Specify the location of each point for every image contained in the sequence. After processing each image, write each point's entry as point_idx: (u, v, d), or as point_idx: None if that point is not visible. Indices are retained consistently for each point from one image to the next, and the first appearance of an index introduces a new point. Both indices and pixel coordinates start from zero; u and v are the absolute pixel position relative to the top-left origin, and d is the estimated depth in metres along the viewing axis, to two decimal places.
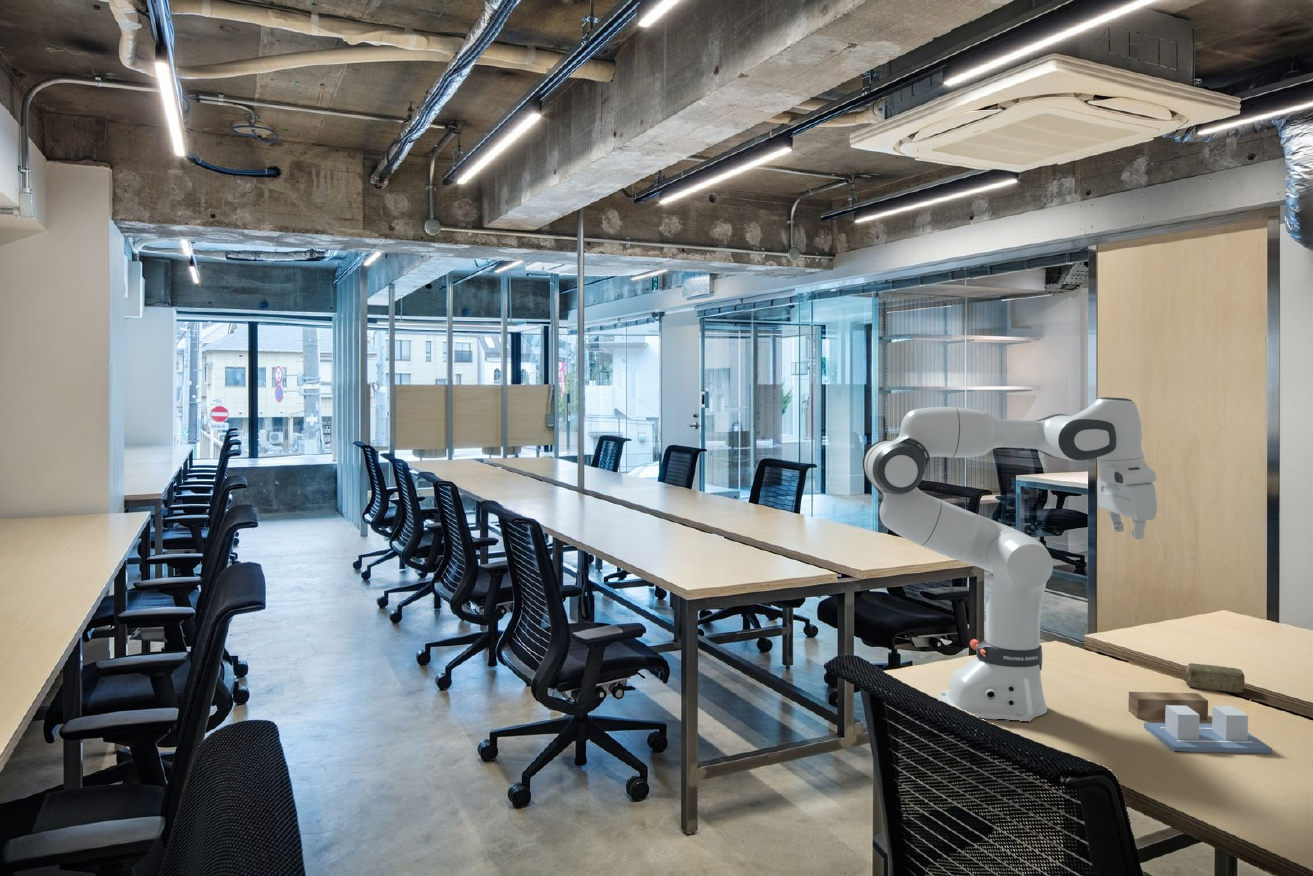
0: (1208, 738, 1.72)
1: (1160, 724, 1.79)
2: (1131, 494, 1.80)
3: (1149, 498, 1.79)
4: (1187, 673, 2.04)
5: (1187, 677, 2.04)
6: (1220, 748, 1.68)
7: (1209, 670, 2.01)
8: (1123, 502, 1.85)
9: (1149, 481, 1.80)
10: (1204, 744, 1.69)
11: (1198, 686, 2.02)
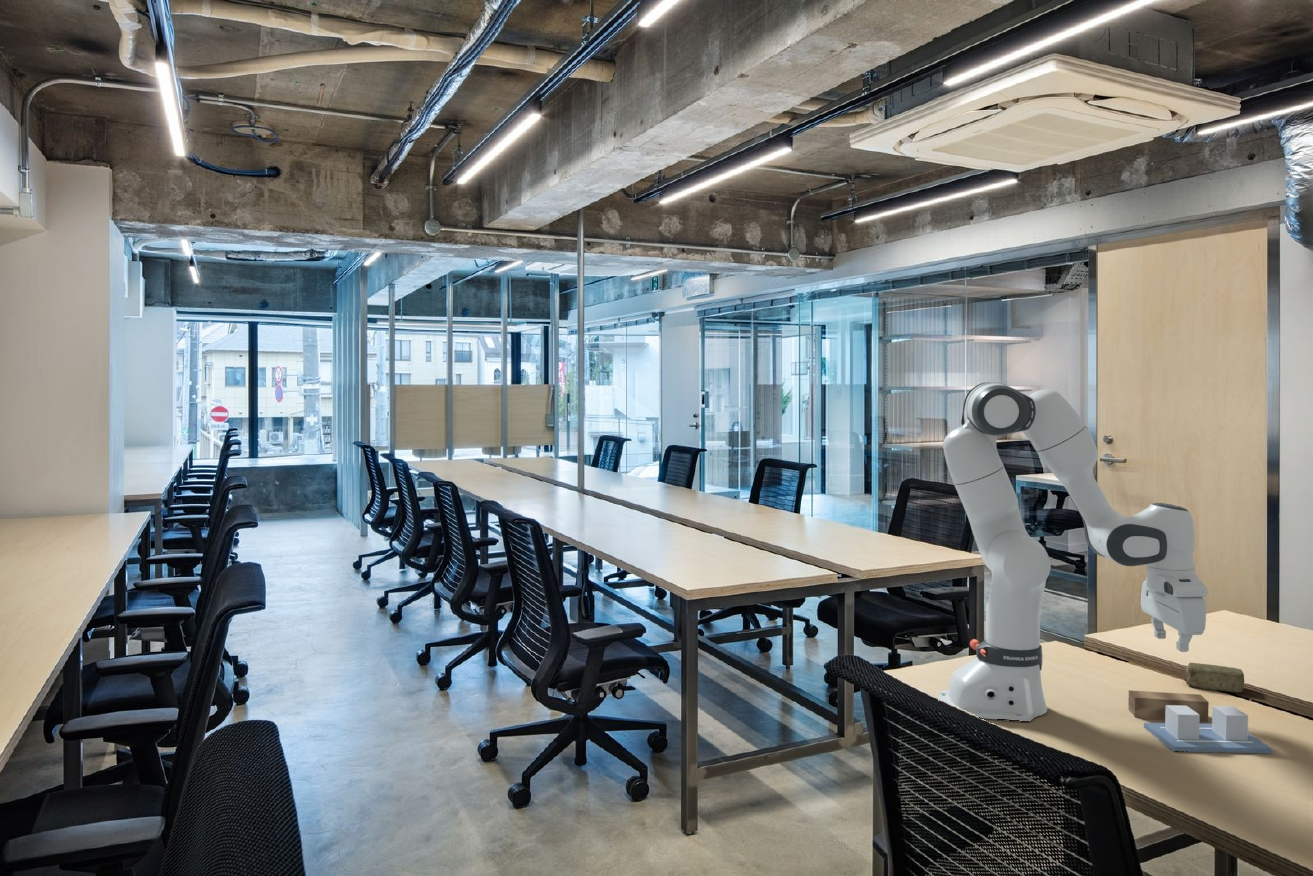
0: (1208, 738, 1.72)
1: (1160, 724, 1.79)
2: (1181, 607, 1.77)
3: (1198, 613, 1.76)
4: (1187, 672, 2.05)
5: (1187, 676, 2.05)
6: (1220, 748, 1.68)
7: (1208, 669, 2.02)
8: (1170, 613, 1.82)
9: (1200, 596, 1.77)
10: (1204, 744, 1.69)
11: (1197, 685, 2.03)
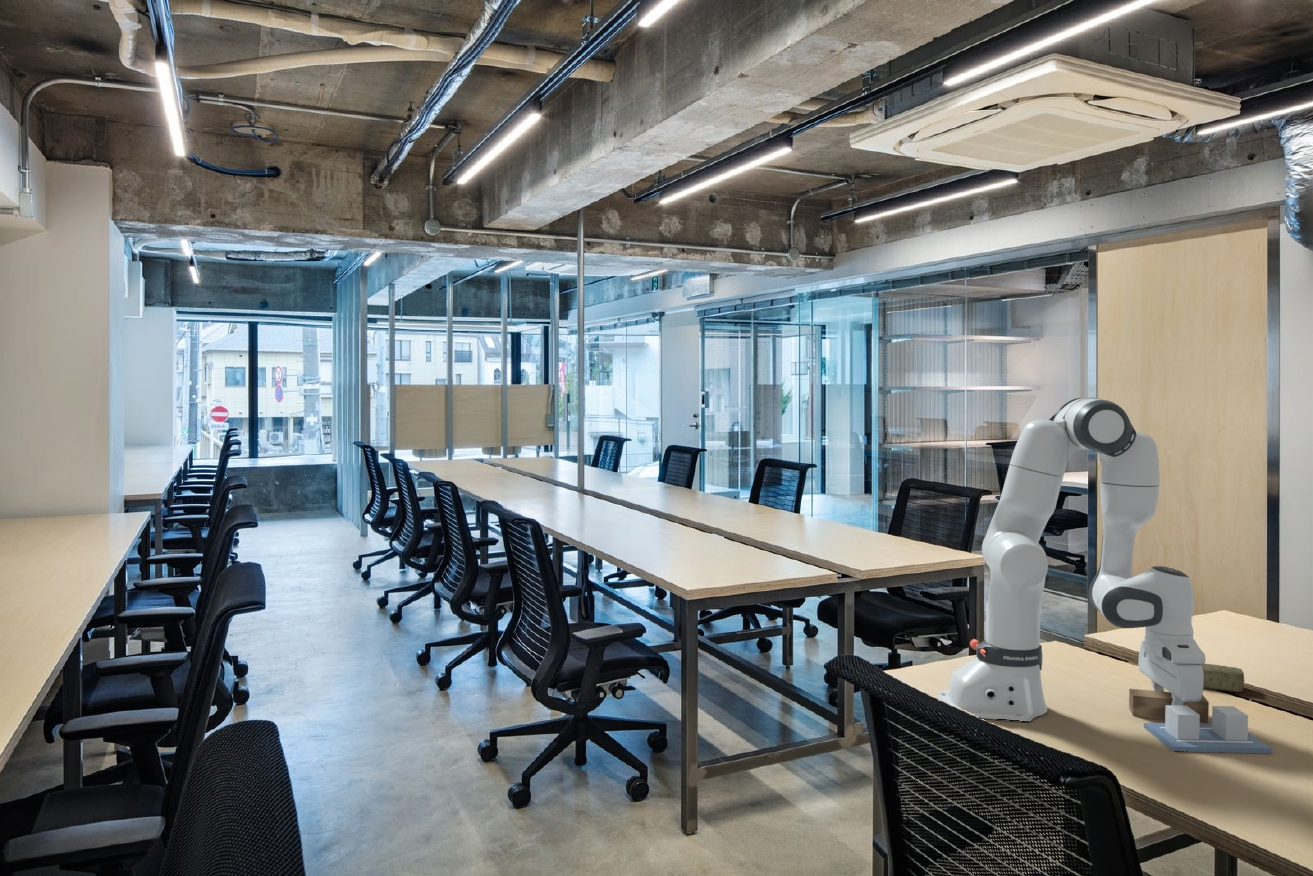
0: (1208, 738, 1.72)
1: (1160, 724, 1.79)
2: (1178, 674, 1.77)
3: (1196, 680, 1.76)
4: None
5: None
6: (1220, 748, 1.68)
7: (1208, 669, 2.02)
8: (1167, 677, 1.83)
9: (1198, 663, 1.77)
10: (1204, 744, 1.69)
11: None
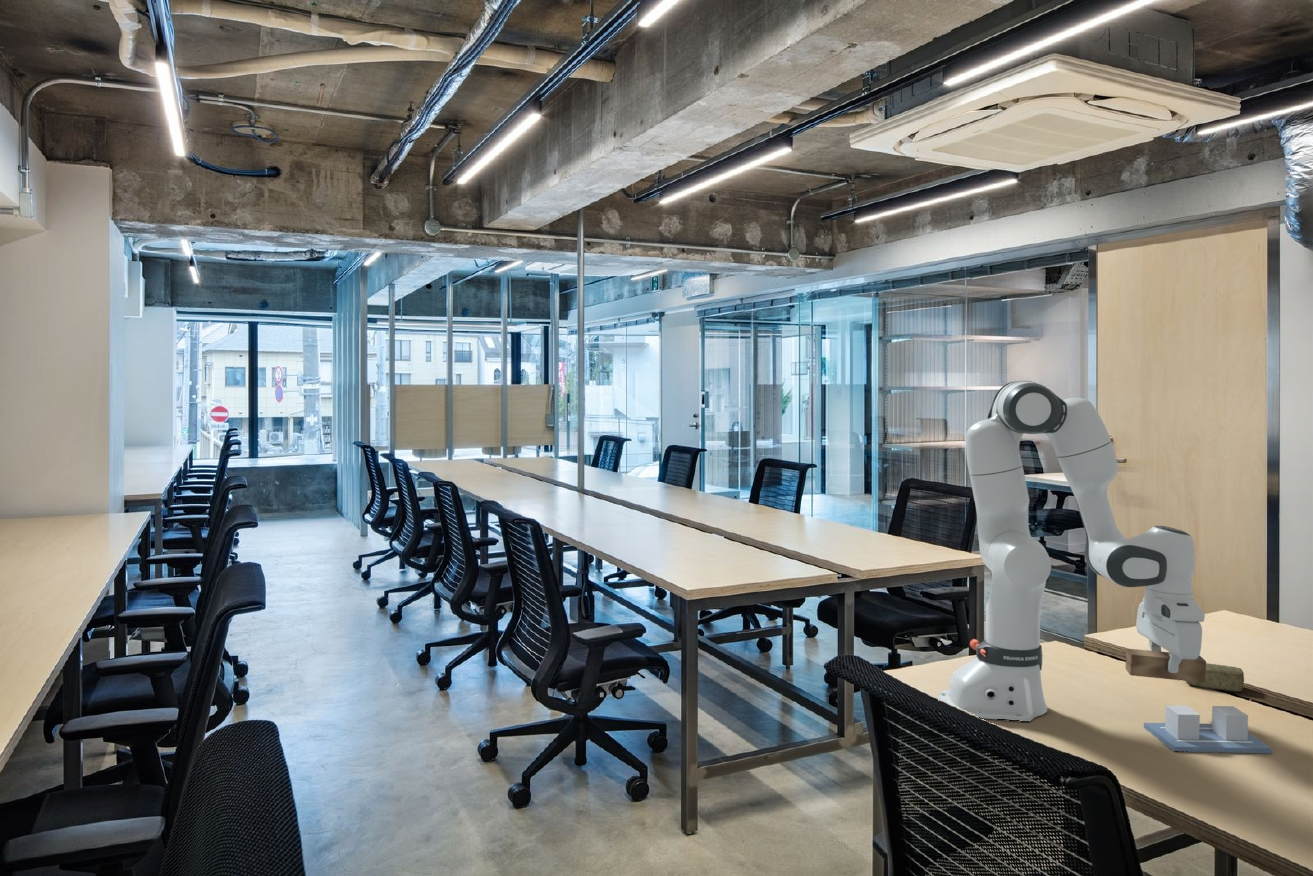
0: (1208, 738, 1.72)
1: (1160, 724, 1.79)
2: (1177, 631, 1.77)
3: (1194, 638, 1.76)
4: None
5: None
6: (1220, 748, 1.68)
7: (1208, 668, 2.02)
8: (1165, 636, 1.83)
9: (1197, 620, 1.77)
10: (1204, 744, 1.69)
11: (1197, 684, 2.03)
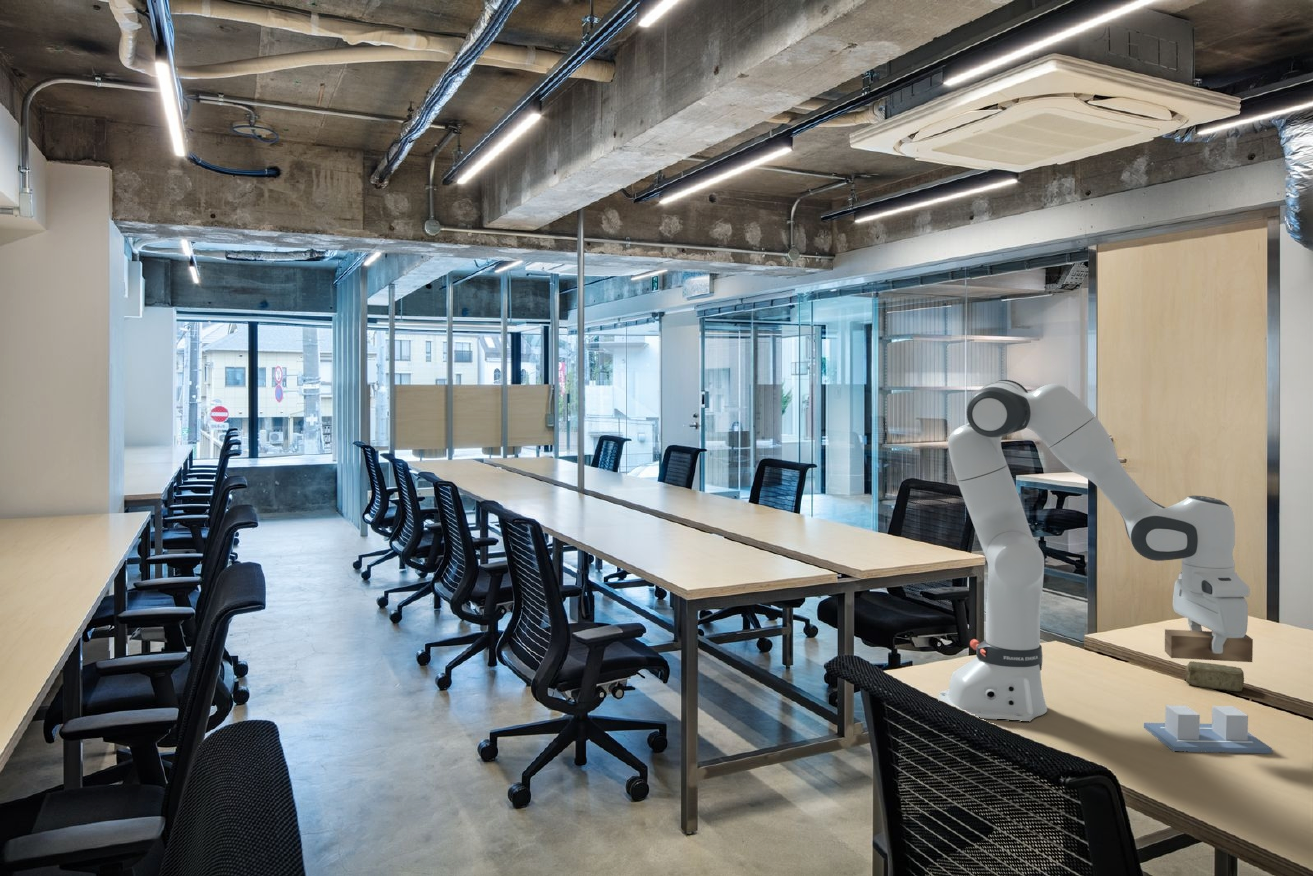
0: (1208, 738, 1.72)
1: (1160, 724, 1.79)
2: (1221, 608, 1.64)
3: (1240, 615, 1.63)
4: (1187, 671, 2.06)
5: (1186, 675, 2.06)
6: (1220, 748, 1.68)
7: (1208, 668, 2.03)
8: (1207, 614, 1.69)
9: (1241, 596, 1.64)
10: (1204, 744, 1.69)
11: (1197, 684, 2.04)
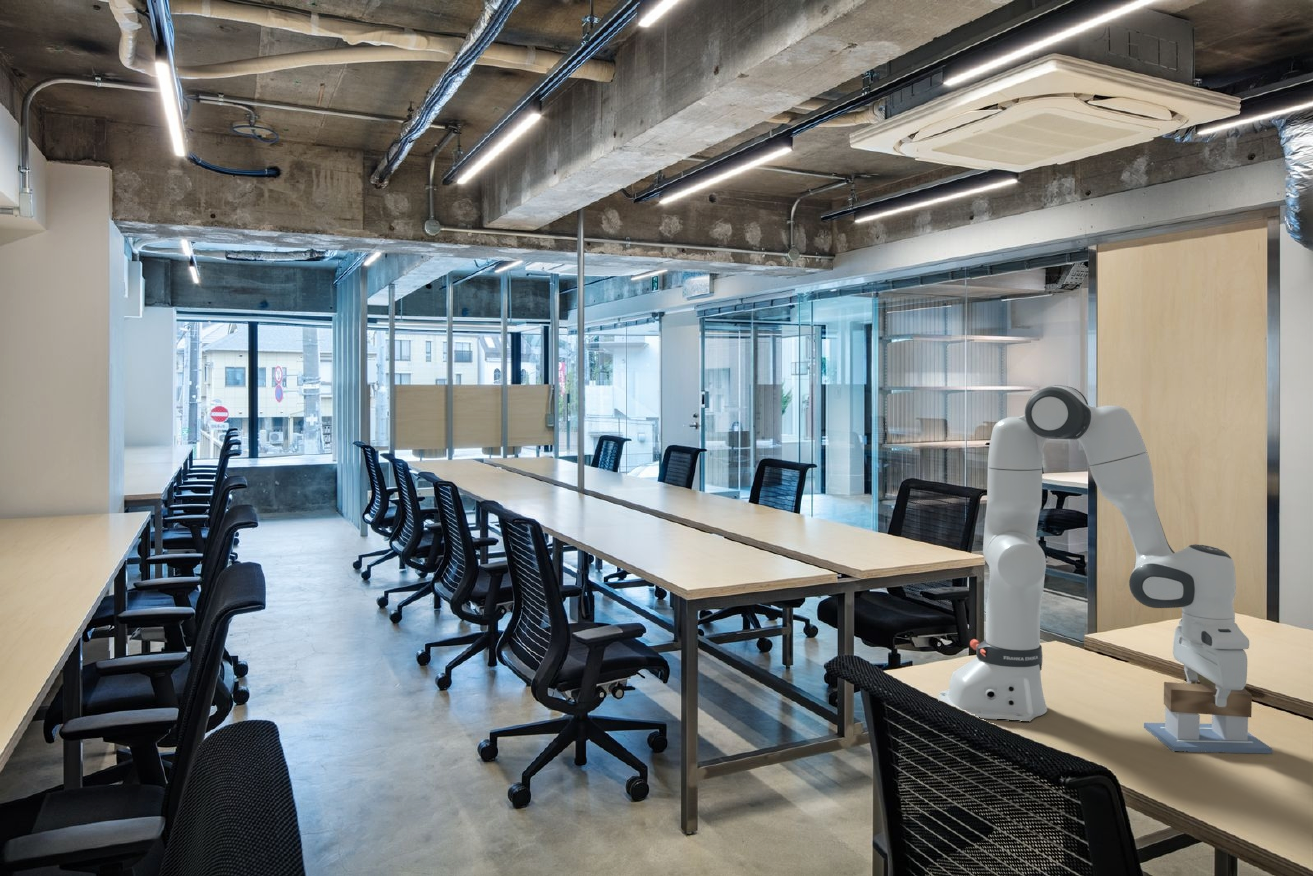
0: (1208, 738, 1.72)
1: (1160, 724, 1.79)
2: (1220, 660, 1.64)
3: (1239, 667, 1.63)
4: None
5: None
6: (1220, 748, 1.68)
7: None
8: (1207, 664, 1.70)
9: (1241, 648, 1.64)
10: (1204, 744, 1.69)
11: None
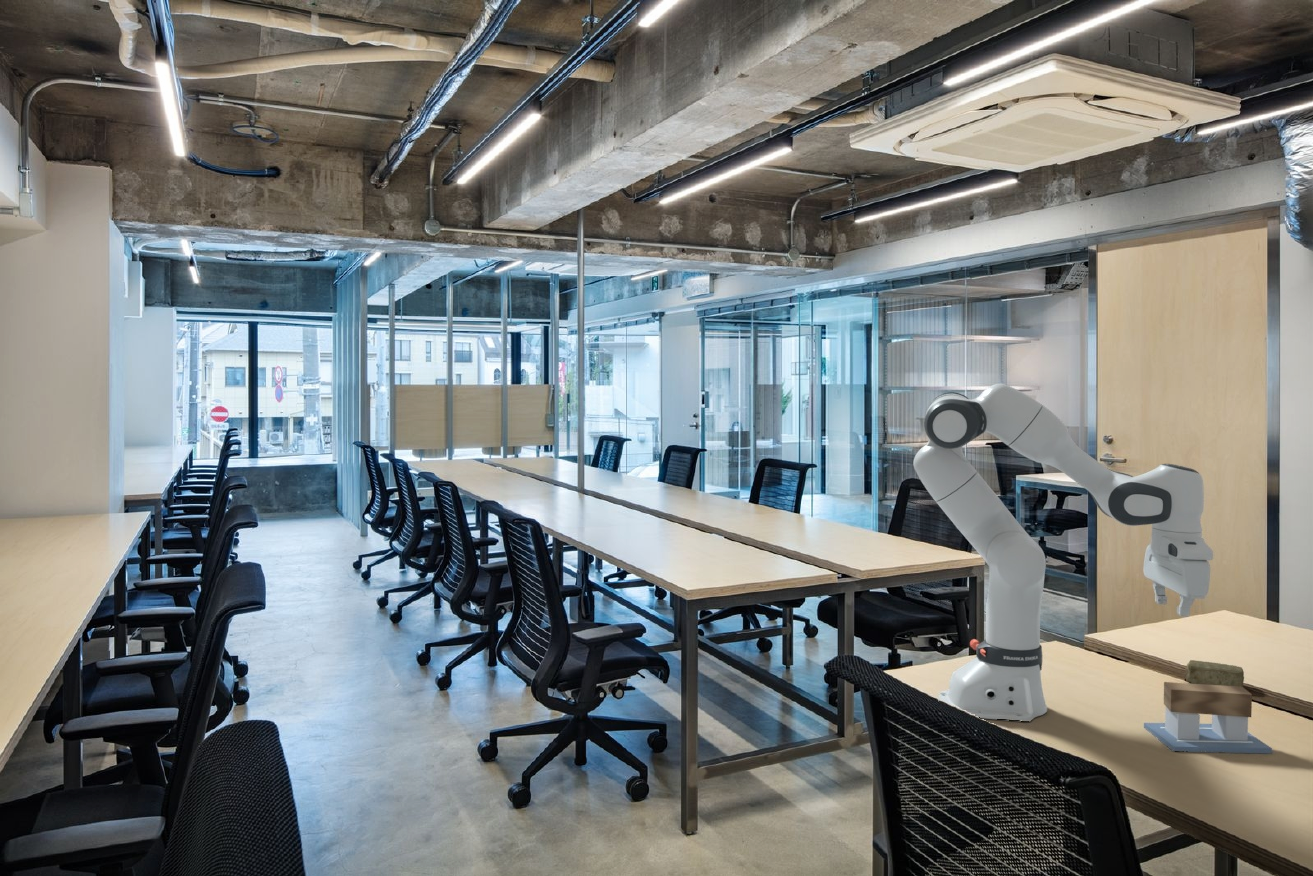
0: (1208, 738, 1.72)
1: (1160, 724, 1.79)
2: (1184, 569, 1.71)
3: (1202, 576, 1.70)
4: (1187, 669, 2.07)
5: (1187, 673, 2.07)
6: (1220, 748, 1.68)
7: (1208, 667, 2.04)
8: (1173, 576, 1.77)
9: (1205, 559, 1.71)
10: (1204, 744, 1.69)
11: (1197, 682, 2.05)
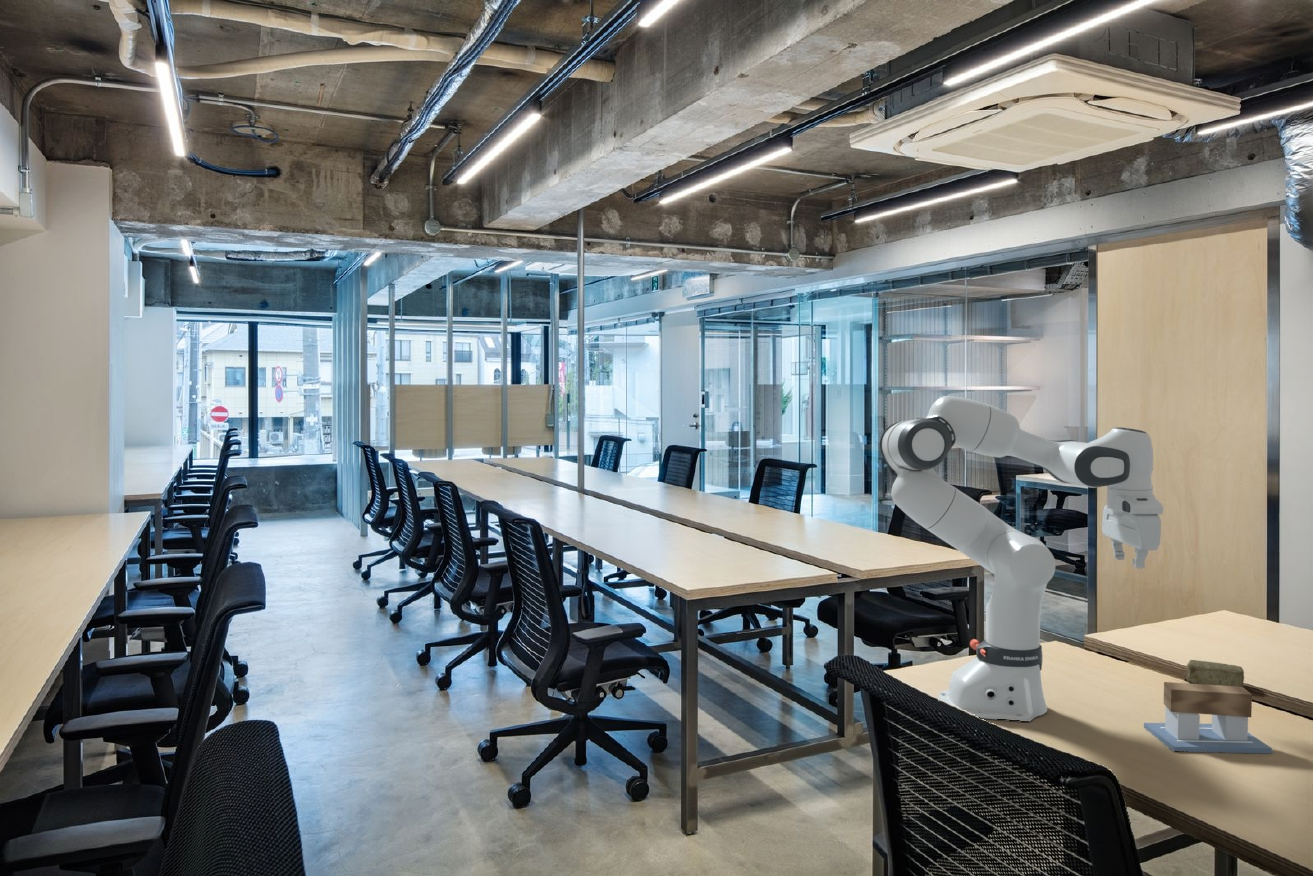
0: (1208, 738, 1.72)
1: (1160, 724, 1.79)
2: (1137, 524, 1.84)
3: (1153, 529, 1.83)
4: (1187, 669, 2.07)
5: (1187, 673, 2.07)
6: (1220, 748, 1.68)
7: (1208, 666, 2.04)
8: (1127, 531, 1.90)
9: (1156, 513, 1.84)
10: (1204, 744, 1.69)
11: (1197, 682, 2.05)
